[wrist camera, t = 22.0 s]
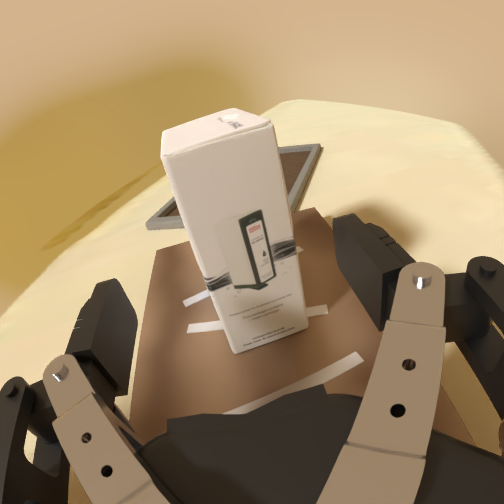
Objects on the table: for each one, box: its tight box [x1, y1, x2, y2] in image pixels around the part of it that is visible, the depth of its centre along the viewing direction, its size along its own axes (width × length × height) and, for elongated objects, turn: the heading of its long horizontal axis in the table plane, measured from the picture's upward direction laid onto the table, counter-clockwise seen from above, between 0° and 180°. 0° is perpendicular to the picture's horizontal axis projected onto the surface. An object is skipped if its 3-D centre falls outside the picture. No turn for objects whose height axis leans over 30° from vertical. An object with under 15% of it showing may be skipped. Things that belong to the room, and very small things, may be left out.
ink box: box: [161, 108, 308, 354], centre depth 18 cm, size 9×5×12 cm, turn 16°
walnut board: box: [130, 207, 476, 446], centre depth 20 cm, size 16×26×2 cm, turn 9°
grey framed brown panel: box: [146, 144, 321, 230], centre depth 48 cm, size 19×2×30 cm
